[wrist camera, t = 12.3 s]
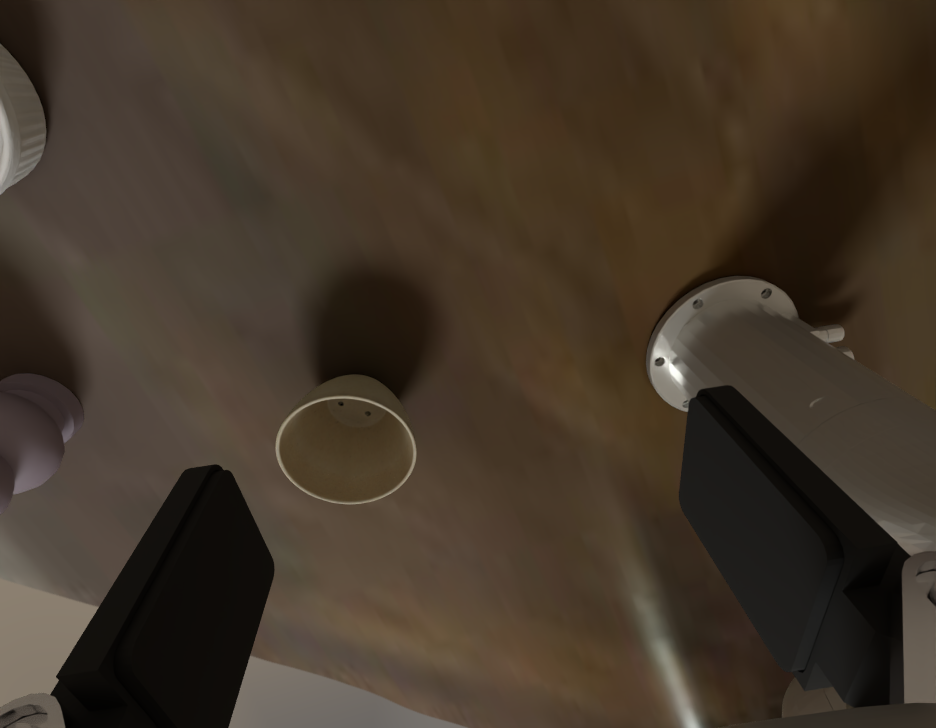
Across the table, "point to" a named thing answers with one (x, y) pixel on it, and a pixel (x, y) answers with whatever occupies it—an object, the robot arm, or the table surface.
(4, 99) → the ramekin
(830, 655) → the robot arm
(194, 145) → the table surface
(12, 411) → the cat figurine
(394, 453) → the flower pot
